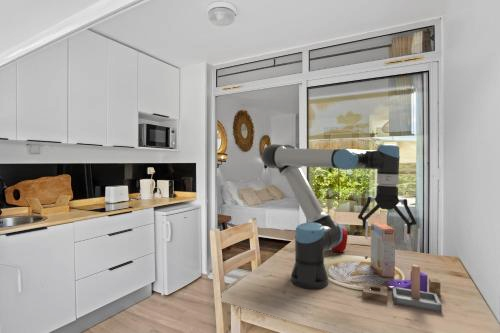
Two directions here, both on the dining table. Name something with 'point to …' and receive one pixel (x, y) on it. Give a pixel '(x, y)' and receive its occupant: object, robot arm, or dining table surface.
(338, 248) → the apple
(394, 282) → the bracket
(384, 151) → the robot arm
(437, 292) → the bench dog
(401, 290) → the tray
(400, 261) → the dining table surface
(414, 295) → the dowel
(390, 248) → the cracker box
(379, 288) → the dowel block
